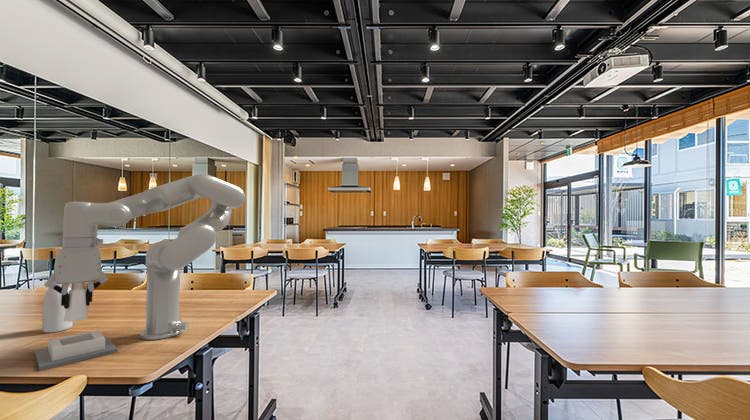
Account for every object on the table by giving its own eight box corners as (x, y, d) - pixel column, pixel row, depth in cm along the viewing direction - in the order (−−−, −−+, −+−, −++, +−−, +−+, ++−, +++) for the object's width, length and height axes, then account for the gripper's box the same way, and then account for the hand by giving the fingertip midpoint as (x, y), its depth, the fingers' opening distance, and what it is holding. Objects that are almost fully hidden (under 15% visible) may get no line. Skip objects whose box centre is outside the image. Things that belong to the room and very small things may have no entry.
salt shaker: (71, 316, 96) (73, 279, 97) (92, 315, 98) (94, 279, 98) (58, 322, 91) (60, 282, 92) (81, 321, 92) (83, 282, 93)
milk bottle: (77, 327, 117) (79, 271, 118) (50, 334, 110) (52, 275, 110) (64, 325, 119) (66, 270, 120) (36, 331, 112) (38, 273, 113)
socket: (106, 338, 106) (106, 326, 106) (117, 351, 95) (118, 338, 95) (35, 354, 93) (35, 340, 94) (39, 370, 83) (40, 355, 83)
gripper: (112, 242, 104) (110, 299, 103) (38, 244, 91) (34, 309, 91) (118, 243, 99) (115, 303, 98) (40, 245, 87) (36, 314, 86)
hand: (76, 305), depth 94 cm, fingers closed on salt shaker, 3 cm apart
